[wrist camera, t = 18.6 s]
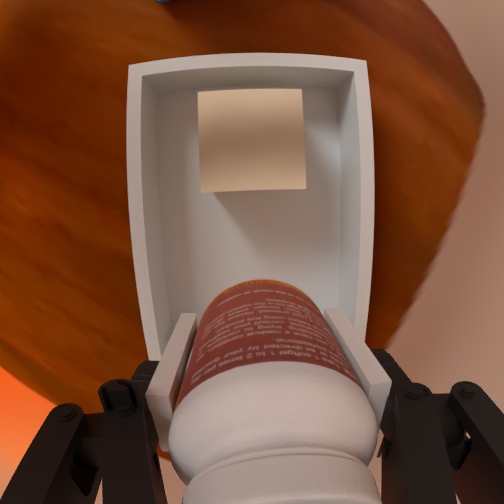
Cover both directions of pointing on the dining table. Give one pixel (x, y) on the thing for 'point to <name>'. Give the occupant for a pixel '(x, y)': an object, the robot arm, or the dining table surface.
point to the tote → (253, 201)
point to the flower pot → (162, 1)
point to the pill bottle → (271, 406)
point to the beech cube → (251, 140)
